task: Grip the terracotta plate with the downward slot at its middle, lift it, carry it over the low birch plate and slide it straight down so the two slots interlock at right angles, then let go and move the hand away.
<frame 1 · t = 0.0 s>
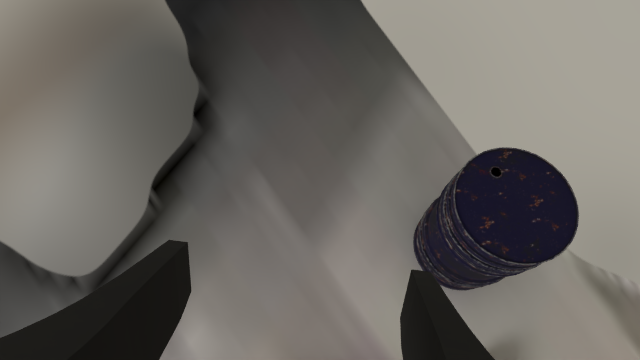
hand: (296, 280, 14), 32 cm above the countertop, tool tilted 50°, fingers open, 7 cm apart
storage jar: (456, 246, 47), on the countertop
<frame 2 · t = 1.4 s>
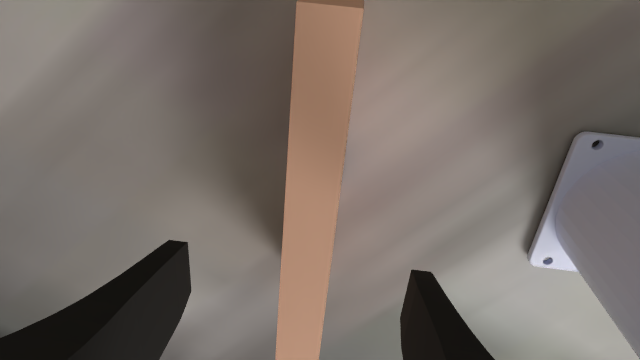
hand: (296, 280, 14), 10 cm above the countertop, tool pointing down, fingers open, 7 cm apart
terracotta slotted plate: (324, 155, 22), on the countertop
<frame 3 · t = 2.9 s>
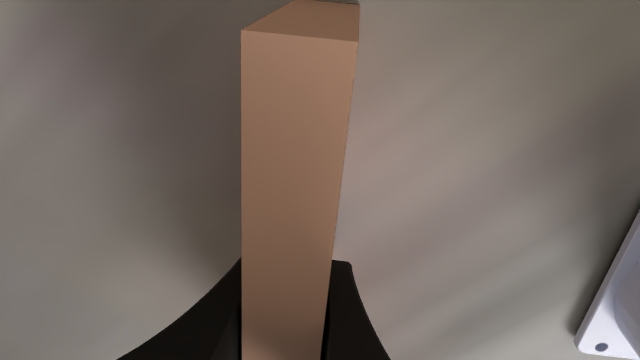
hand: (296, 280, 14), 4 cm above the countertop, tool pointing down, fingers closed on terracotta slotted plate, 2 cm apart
terracotta slotted plate: (309, 215, 17), on the countertop, touching gripper
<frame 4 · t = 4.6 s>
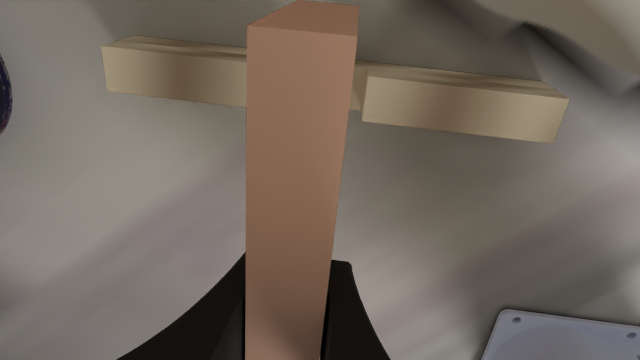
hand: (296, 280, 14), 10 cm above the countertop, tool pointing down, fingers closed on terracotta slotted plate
birch slotted plate: (332, 78, 21), on the countertop
terracotta slotted plate: (310, 211, 17), point 6 cm above the countertop, touching gripper
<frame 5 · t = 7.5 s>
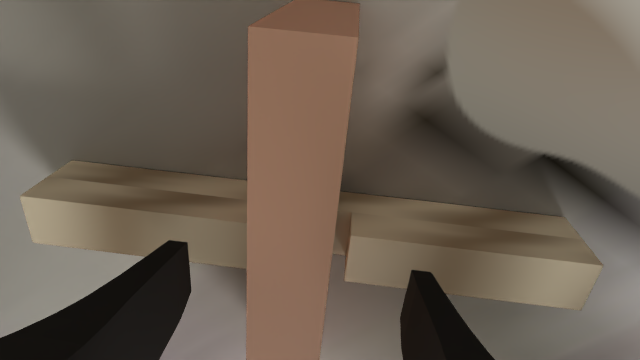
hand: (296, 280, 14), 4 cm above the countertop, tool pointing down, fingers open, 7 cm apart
birch slotted plate: (311, 209, 17), on the countertop
terracotta slotted plate: (310, 209, 17), on the countertop
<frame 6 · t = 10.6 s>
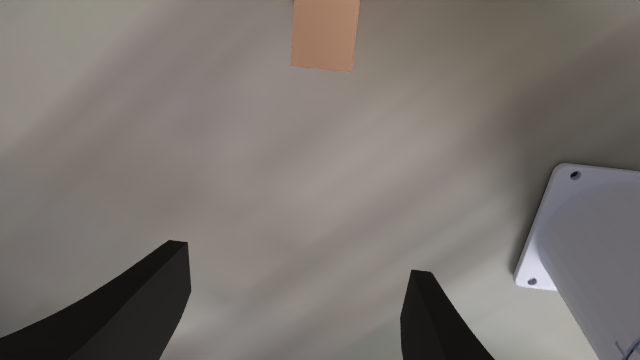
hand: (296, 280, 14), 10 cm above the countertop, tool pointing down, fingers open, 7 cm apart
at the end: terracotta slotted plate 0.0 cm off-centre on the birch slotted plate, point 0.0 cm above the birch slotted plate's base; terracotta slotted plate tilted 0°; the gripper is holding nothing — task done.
